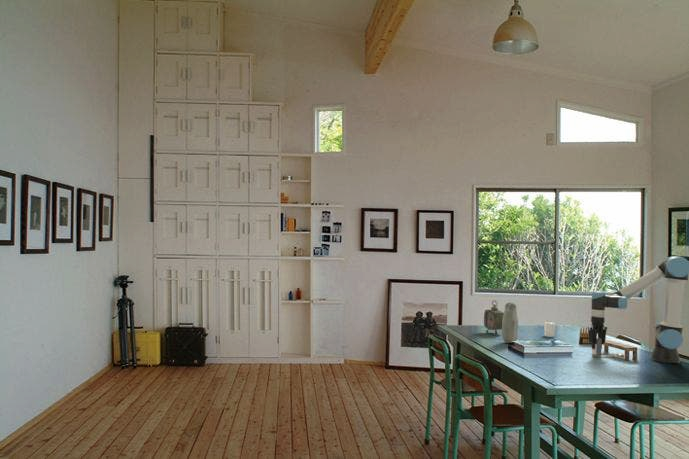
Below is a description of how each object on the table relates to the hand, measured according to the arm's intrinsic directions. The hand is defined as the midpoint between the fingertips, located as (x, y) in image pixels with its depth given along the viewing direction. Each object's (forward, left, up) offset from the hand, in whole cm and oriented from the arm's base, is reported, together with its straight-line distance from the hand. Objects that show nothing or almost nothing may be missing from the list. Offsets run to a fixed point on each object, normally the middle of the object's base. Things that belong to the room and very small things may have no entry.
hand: (596, 354), depth 320 cm
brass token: (0, -19, -2) cm, 19 cm away
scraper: (0, -8, -2) cm, 8 cm away
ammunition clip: (+34, -24, -2) cm, 42 cm away
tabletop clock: (+79, +21, -2) cm, 82 cm away
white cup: (+64, -17, -2) cm, 66 cm away
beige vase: (+46, +31, -2) cm, 55 cm away
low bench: (0, -15, -2) cm, 16 cm away
